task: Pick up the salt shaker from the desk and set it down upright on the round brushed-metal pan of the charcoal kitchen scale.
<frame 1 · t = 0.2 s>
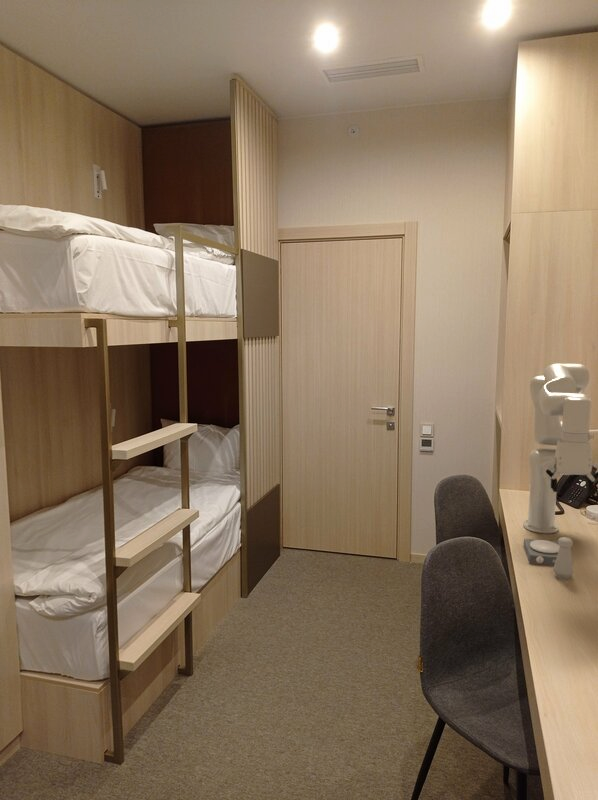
hand: (571, 491, 179), 29 cm above the table, fingers open, 9 cm apart
scale: (544, 556, 202), on the table
salt shaker: (562, 577, 187), on the table
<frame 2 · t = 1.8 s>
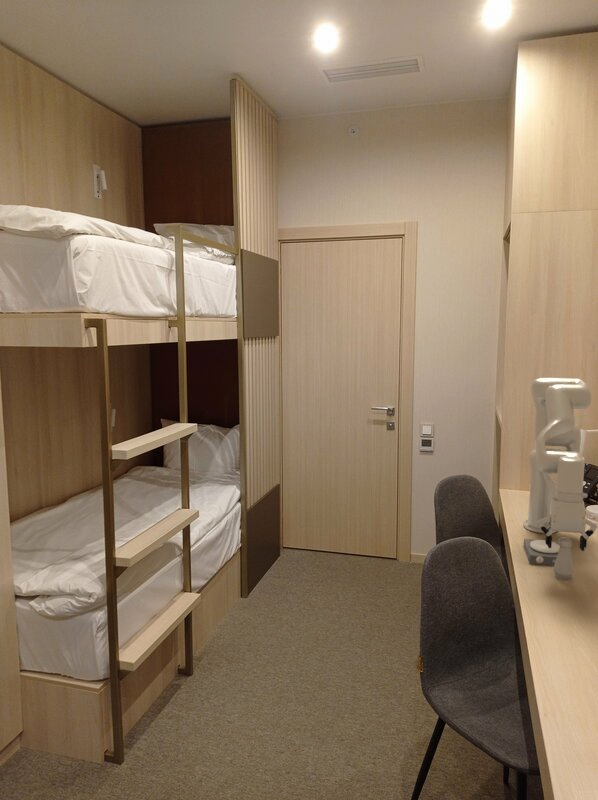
hand: (565, 548, 184), 10 cm above the table, fingers open, 9 cm apart
nothing on the table moved.
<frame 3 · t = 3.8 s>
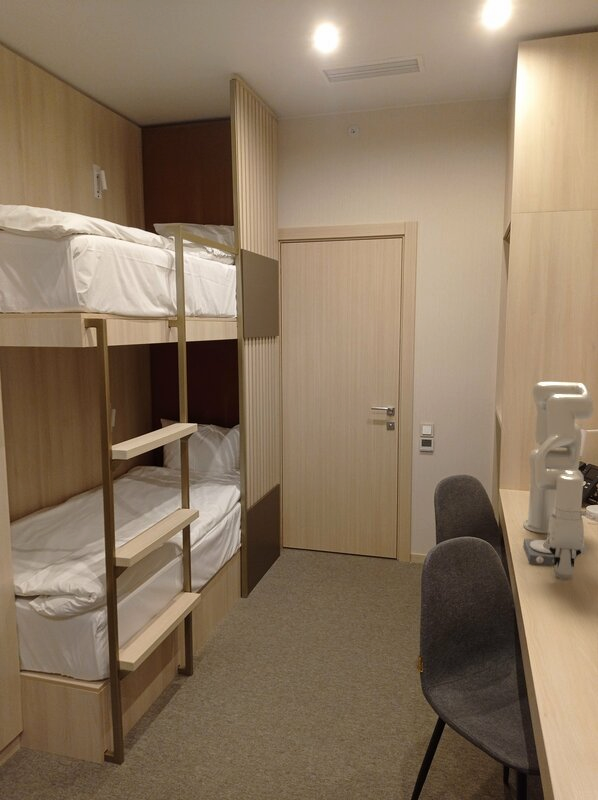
hand: (563, 567, 186), 3 cm above the table, fingers closed on salt shaker, 3 cm apart
salt shaker: (562, 577, 187), on the table, touching gripper
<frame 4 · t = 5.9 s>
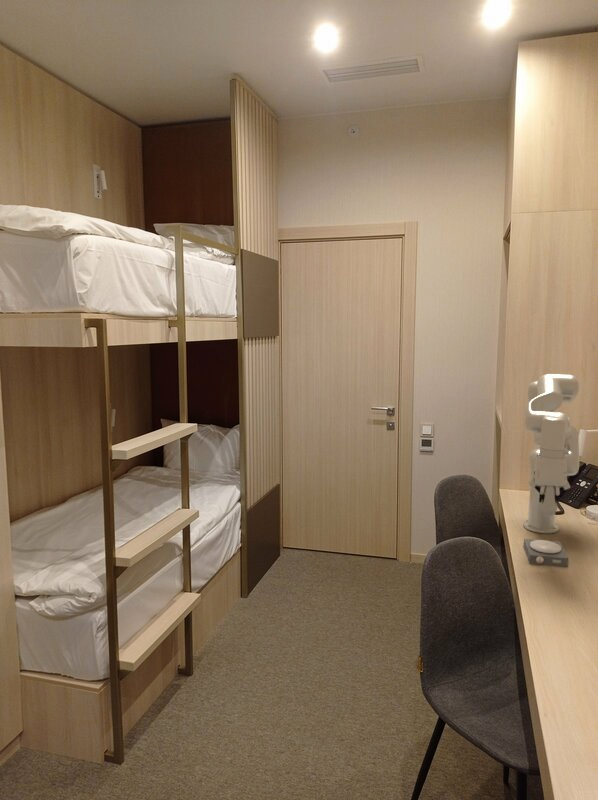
hand: (548, 504, 199), 19 cm above the table, fingers closed on salt shaker, 3 cm apart
salt shaker: (547, 513, 199), point 15 cm above the table, touching gripper
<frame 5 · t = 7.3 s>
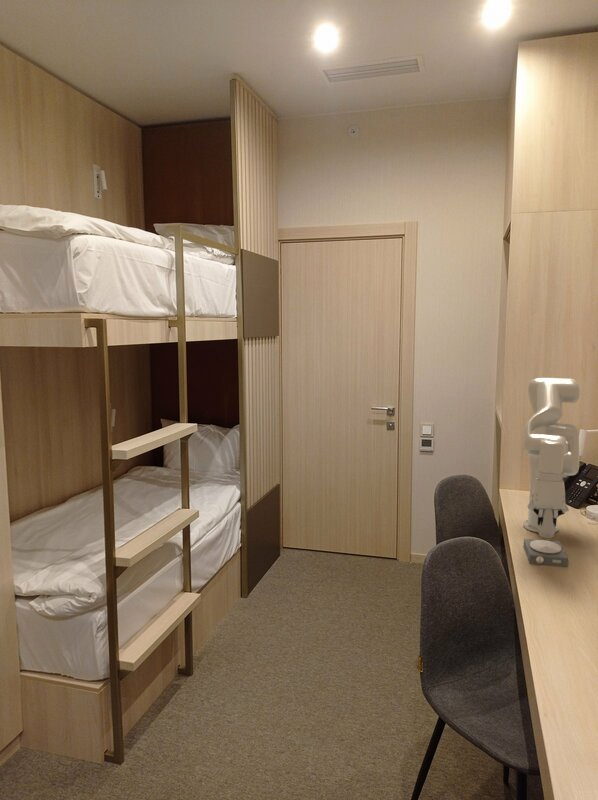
hand: (546, 527, 200), 11 cm above the table, fingers closed on salt shaker, 3 cm apart
salt shaker: (546, 536, 200), point 7 cm above the table, touching gripper
when the fingers open (8 cm above the table, at t = 8.5 s): salt shaker stays where it is, resting on scale.
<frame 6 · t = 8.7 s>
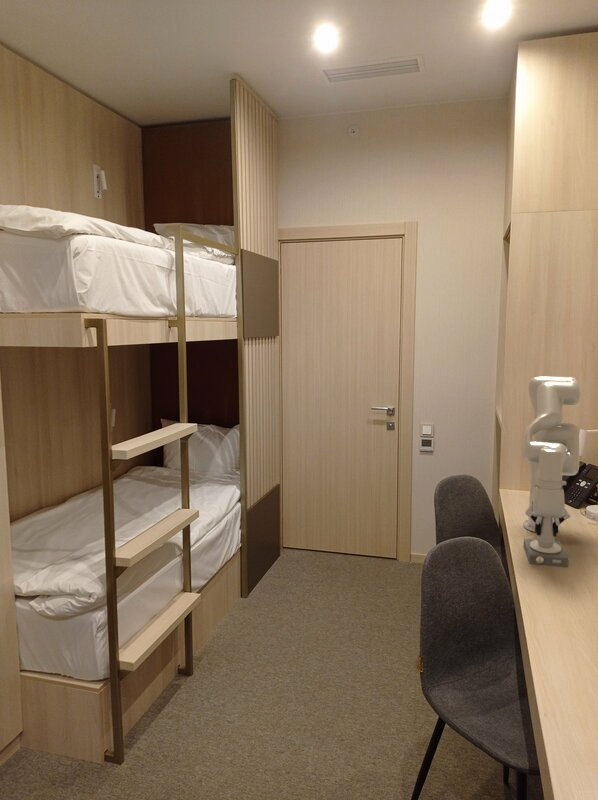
hand: (546, 534, 200), 8 cm above the table, fingers open, 4 cm apart
salt shaker: (545, 546, 201), point 4 cm above the table, touching scale
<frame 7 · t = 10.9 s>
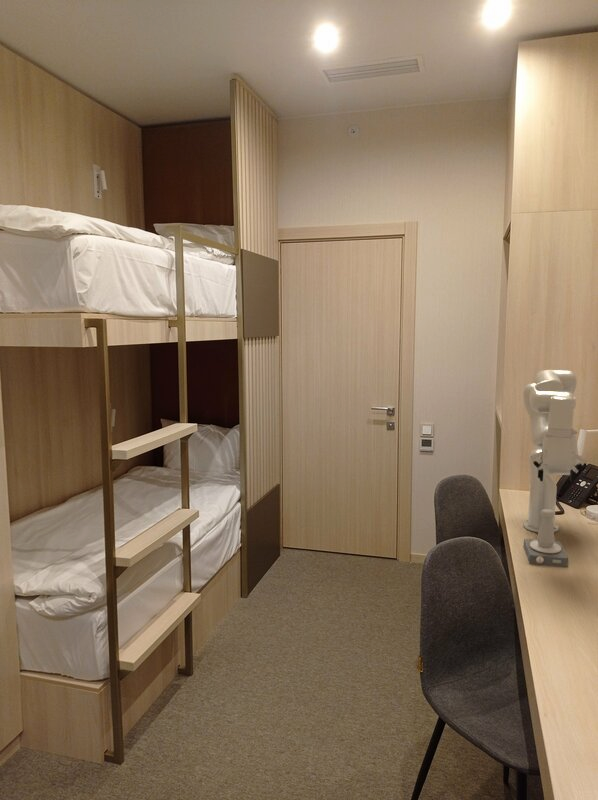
hand: (556, 481, 198), 27 cm above the table, fingers open, 9 cm apart
nothing on the table moved.
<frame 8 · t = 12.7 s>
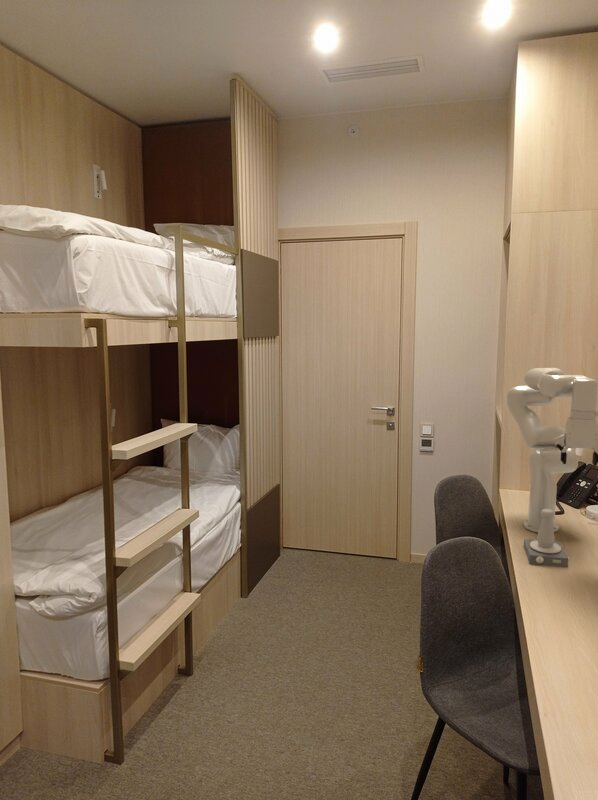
hand: (579, 463, 199), 32 cm above the table, fingers open, 9 cm apart
nothing on the table moved.
at the end: salt shaker inside the target area on the scale (0.1 cm from its centre), point 3.6 cm above the scale's base; salt shaker tilted 0°; the gripper is holding nothing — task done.
